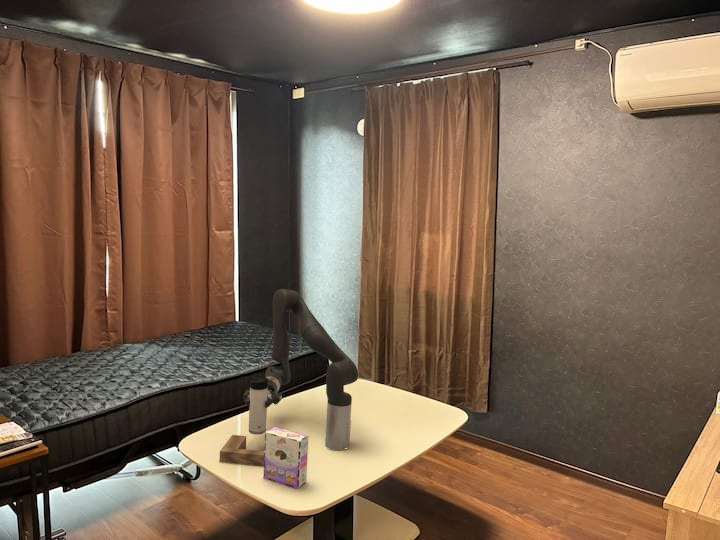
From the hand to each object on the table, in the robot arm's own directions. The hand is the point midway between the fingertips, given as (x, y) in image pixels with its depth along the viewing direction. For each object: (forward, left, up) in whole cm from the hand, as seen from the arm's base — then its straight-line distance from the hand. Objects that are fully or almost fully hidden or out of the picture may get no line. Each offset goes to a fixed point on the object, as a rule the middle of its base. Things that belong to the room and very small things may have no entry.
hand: (256, 404), depth 194 cm
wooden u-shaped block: (0, -1, -20) cm, 20 cm away
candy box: (-14, +14, -20) cm, 28 cm away
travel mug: (0, -2, -11) cm, 11 cm away
